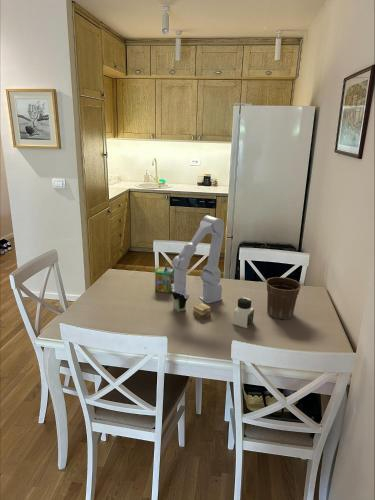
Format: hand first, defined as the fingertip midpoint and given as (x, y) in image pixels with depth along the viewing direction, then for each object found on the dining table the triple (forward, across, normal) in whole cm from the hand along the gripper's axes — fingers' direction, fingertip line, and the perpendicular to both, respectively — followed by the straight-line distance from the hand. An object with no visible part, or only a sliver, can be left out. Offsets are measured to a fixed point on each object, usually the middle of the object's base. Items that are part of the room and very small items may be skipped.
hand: (179, 306), depth 180 cm
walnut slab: (+2, +11, +6) cm, 13 cm away
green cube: (+1, 0, 0) cm, 1 cm away
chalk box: (+2, -24, +4) cm, 24 cm away
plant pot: (+2, +27, +41) cm, 49 cm away
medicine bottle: (+2, +26, +19) cm, 32 cm away
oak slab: (-1, +11, +6) cm, 13 cm away
